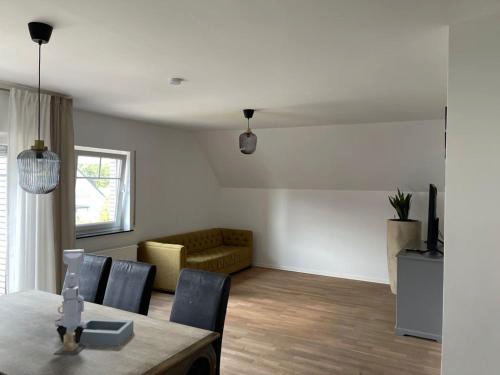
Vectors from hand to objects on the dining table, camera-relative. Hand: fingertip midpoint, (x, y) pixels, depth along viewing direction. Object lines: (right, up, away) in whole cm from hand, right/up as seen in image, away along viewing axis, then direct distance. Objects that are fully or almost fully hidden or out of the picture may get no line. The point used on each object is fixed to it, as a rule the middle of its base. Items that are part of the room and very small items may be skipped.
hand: (70, 342), depth 179 cm
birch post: (0, -3, 0) cm, 3 cm away
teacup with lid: (-23, -3, +45) cm, 51 cm away
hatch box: (+9, -4, +15) cm, 18 cm away
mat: (0, -4, 0) cm, 4 cm away
